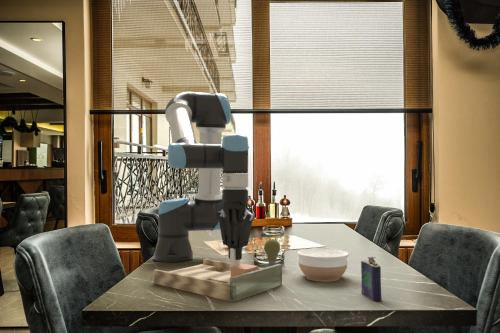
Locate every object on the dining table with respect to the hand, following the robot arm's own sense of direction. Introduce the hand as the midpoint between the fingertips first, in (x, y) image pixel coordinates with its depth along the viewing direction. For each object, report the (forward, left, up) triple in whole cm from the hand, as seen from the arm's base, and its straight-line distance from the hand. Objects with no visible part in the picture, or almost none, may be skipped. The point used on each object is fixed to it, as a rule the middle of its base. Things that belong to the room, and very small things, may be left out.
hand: (235, 270), depth 123 cm
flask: (+35, +15, -5) cm, 38 cm away
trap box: (-7, 0, -5) cm, 9 cm away
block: (+4, 0, -2) cm, 4 cm away
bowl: (+14, +27, -5) cm, 31 cm away
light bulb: (-7, +29, -5) cm, 30 cm away
